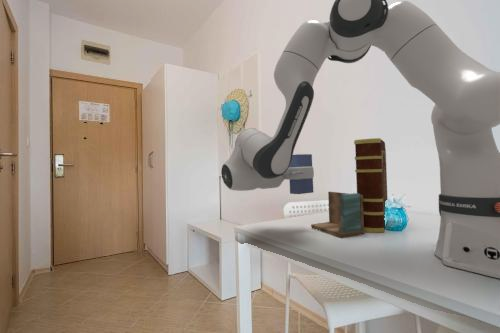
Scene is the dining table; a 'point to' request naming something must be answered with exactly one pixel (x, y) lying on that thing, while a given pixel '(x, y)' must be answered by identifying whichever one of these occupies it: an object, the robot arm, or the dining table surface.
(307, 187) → the navy book
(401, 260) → the dining table surface
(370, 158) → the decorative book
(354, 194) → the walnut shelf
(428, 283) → the dining table surface
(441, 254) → the robot arm
